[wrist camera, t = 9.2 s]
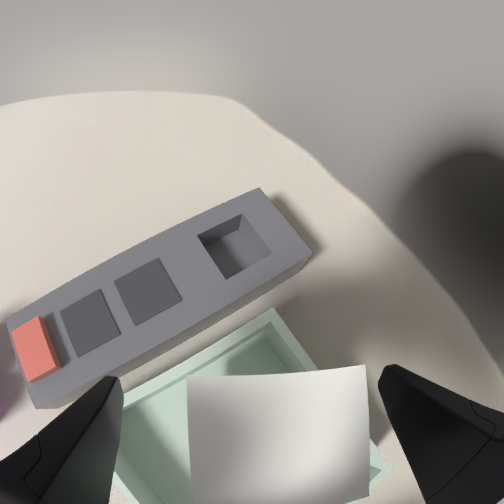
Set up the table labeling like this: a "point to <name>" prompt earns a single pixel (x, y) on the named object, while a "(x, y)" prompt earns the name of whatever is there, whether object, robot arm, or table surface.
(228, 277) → the power strip
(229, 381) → the white long block
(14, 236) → the table surface
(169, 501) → the tray
